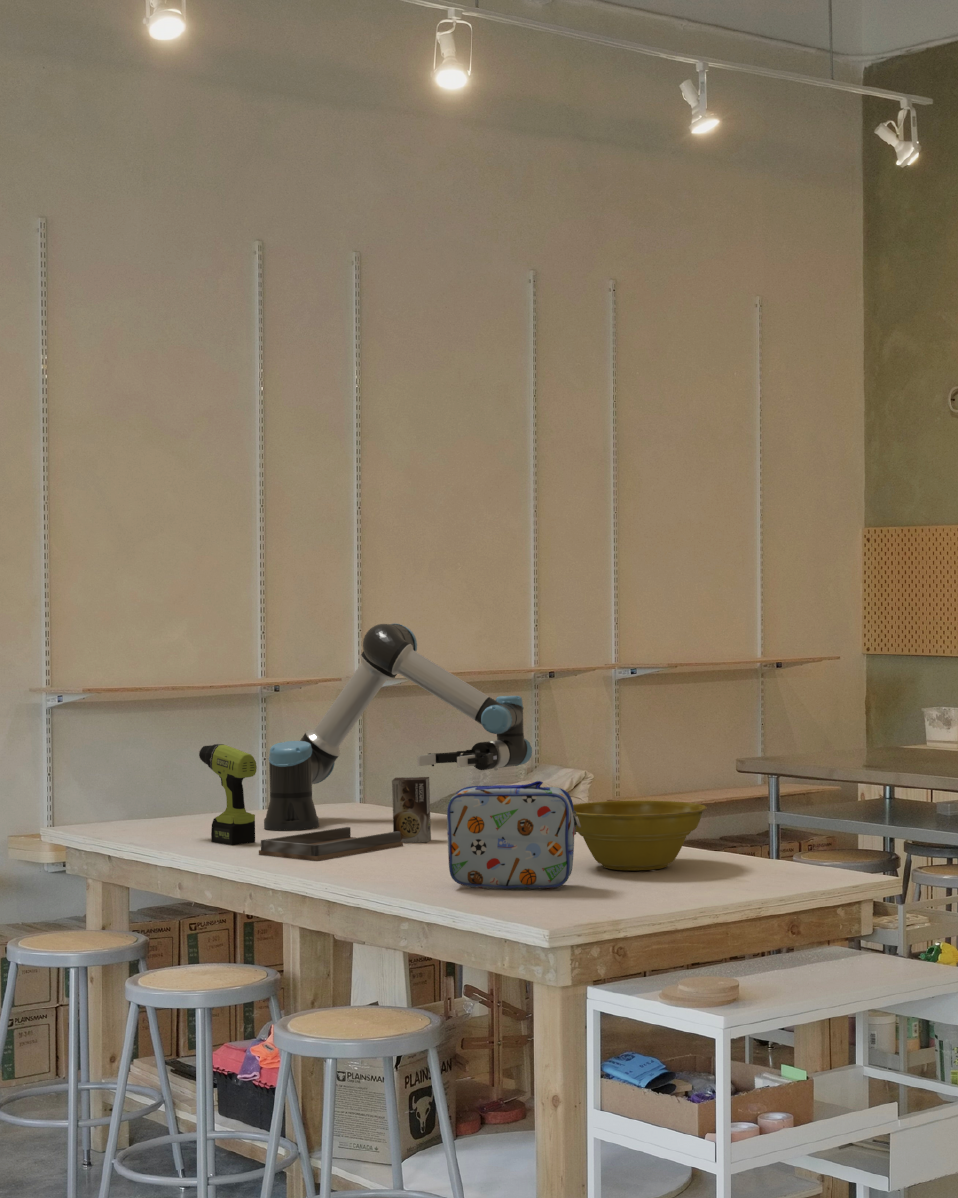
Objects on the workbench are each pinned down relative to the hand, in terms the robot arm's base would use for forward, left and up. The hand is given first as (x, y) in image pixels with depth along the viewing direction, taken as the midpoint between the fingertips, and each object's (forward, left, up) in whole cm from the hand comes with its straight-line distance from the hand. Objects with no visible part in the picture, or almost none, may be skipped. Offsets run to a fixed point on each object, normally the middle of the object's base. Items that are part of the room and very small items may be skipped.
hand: (438, 761), depth 397 cm
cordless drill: (-44, -35, -20) cm, 59 cm away
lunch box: (+65, -53, -20) cm, 86 cm away
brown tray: (-7, -33, -19) cm, 39 cm away
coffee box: (-1, -10, -20) cm, 22 cm away
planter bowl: (+71, -17, -20) cm, 76 cm away
